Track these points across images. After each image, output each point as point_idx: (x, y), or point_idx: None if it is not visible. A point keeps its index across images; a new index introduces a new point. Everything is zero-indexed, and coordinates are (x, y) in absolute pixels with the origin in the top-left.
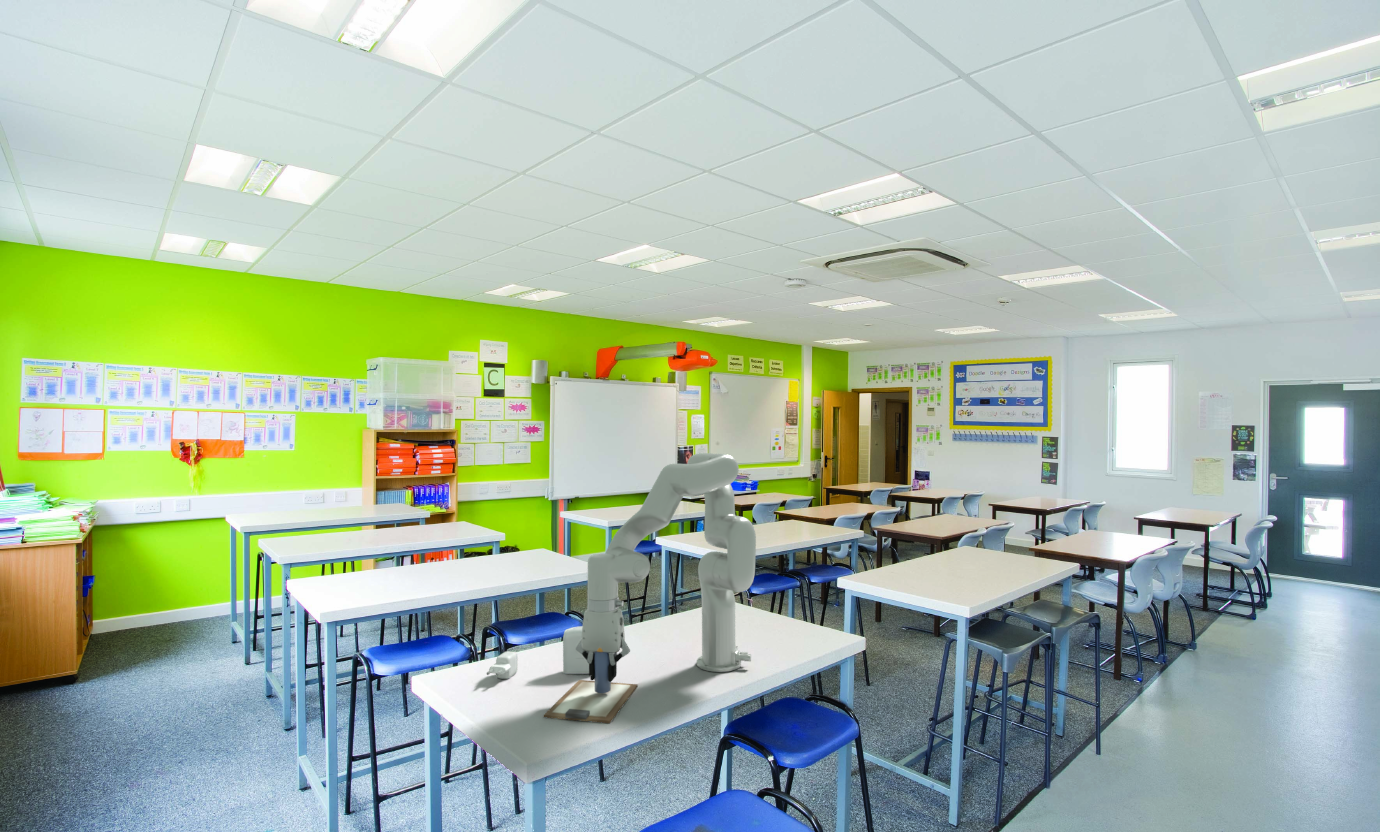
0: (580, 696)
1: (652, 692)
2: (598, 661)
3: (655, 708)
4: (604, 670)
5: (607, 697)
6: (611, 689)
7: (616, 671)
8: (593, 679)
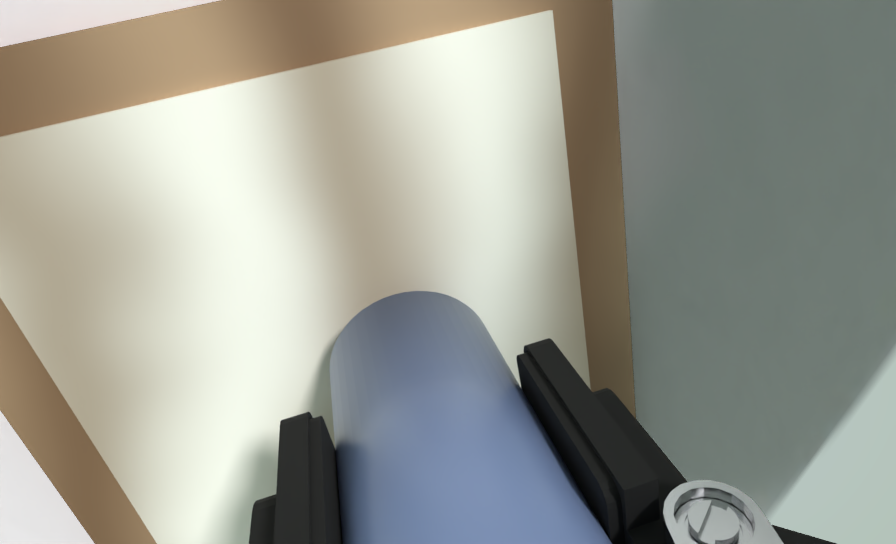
0: (248, 462)
1: (776, 18)
2: None
3: (844, 293)
4: None
5: None
6: (417, 207)
7: (627, 411)
8: None
